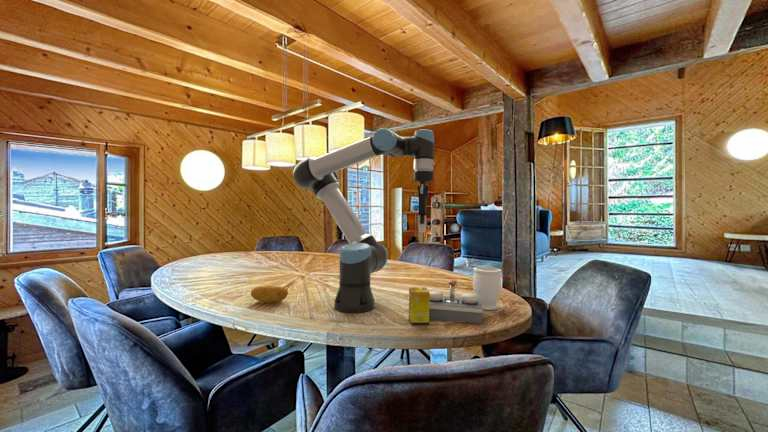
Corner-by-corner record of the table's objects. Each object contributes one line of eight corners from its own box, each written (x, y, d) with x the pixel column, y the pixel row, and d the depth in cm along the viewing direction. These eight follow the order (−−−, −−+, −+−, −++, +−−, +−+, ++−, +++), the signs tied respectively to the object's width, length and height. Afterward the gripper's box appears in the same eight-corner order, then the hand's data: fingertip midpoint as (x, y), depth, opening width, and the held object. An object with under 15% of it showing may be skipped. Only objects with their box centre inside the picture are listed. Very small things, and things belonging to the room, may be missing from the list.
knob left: (426, 313, 117) (426, 294, 116) (427, 309, 122) (427, 290, 122) (442, 315, 116) (442, 295, 115) (442, 310, 121) (443, 291, 121)
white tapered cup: (502, 312, 121) (503, 272, 121) (473, 310, 124) (474, 270, 123) (498, 304, 132) (499, 266, 131) (471, 302, 134) (472, 265, 133)
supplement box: (408, 318, 113) (408, 287, 112) (425, 318, 113) (426, 287, 113) (411, 325, 107) (411, 291, 106) (429, 325, 107) (430, 291, 107)
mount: (421, 318, 114) (422, 303, 113) (424, 307, 126) (425, 294, 125) (482, 323, 109) (482, 308, 109) (479, 312, 121) (479, 298, 121)
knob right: (461, 316, 114) (461, 296, 114) (460, 311, 120) (461, 292, 119) (477, 318, 113) (478, 298, 113) (476, 313, 119) (477, 293, 118)
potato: (283, 306, 123) (283, 288, 123) (247, 305, 124) (247, 287, 124) (290, 300, 131) (290, 283, 131) (256, 299, 132) (256, 282, 132)
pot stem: (445, 316, 116) (446, 281, 116) (445, 312, 120) (446, 279, 120) (457, 317, 115) (458, 282, 115) (457, 313, 119) (458, 280, 119)
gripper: (432, 169, 120) (430, 234, 121) (434, 172, 133) (432, 231, 134) (411, 169, 121) (410, 233, 122) (415, 172, 134) (414, 230, 135)
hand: (422, 232), depth 128 cm, fingers closed
